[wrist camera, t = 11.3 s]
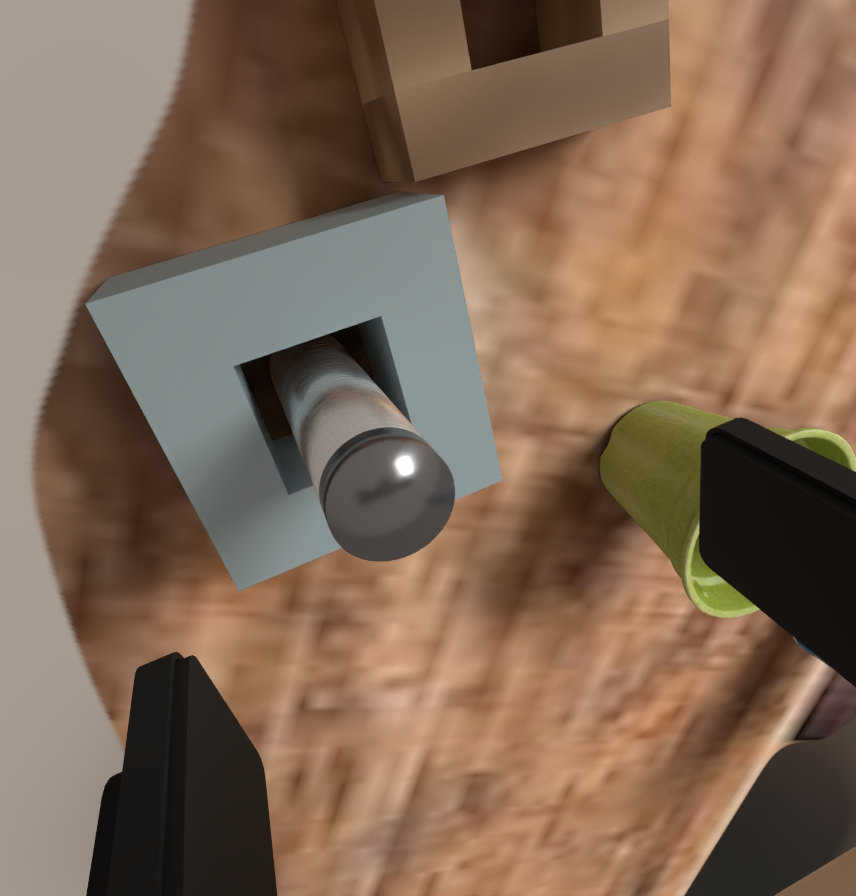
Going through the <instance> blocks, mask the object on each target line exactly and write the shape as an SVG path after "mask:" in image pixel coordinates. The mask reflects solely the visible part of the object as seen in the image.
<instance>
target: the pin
mask: <svg viewBox="0 0 856 896" xmlns="http://www.w3.org/2000/svg"><path fill="white" fill-rule="evenodd" d="M270 374H271V378H272V381H273V383H274V386H275V389H276V391H277V394H278V396H279V399H280V402H281V404H282V407H283V409H284V412H285V415H286V417H287V420H288V422H289V425H290V428H291V430H292V433H293V435H294V438H295V441H296V443H297V446H298V448H299V451H300V453H301V456H302V459H303V461H304V464H305V466H306V469H307V472H308V474H309V477H310V479H311V482H312V485H313V487H314V490H315V492H316V495H317V498H318V500H319V503H320V505H321V508H322V511H323V513H324V516H325V518H326V521H327V524H328V526H329V529H330V531H331V533H332V535H333V537H334V539H335V540H336V541H337V543H338V544H339V545H340V546H341V547H342V548H343V549H344V550H346V551H347V552H348V553H350V554H352V555H354V556H356V557H358V558H361V559H365V560H369V561H391V560H396V559H400V558H403V557H406V556H409V555H411V554H413V553H415V552H417V551H419V550H420V549H422V548H423V547H425V546H426V545H427V544H429V543H430V542H431V541H432V540H433V539H434V538H435V537H436V536H437V535H438V534H439V533H440V532H441V530H442V529H443V527H444V526H445V524H446V523H447V521H448V519H449V517H450V515H451V512H452V509H453V505H454V500H455V485H454V479H453V476H452V473H451V471H450V469H449V468H448V466H447V465H446V463H445V462H444V461H443V459H442V458H441V457H440V456H439V455H438V454H437V453H436V451H435V450H434V449H433V448H432V447H431V446H430V445H429V444H428V442H427V441H426V440H425V439H424V438H423V437H422V436H421V434H420V433H419V432H418V431H417V430H416V429H415V428H414V427H413V425H412V424H411V423H410V422H409V421H408V420H407V419H406V418H405V416H404V415H403V414H402V413H401V412H400V411H399V410H398V408H397V407H396V406H395V405H394V404H393V403H392V402H391V401H390V399H389V398H388V397H387V396H386V395H385V394H384V393H383V392H382V390H381V389H380V388H379V387H378V386H377V385H376V384H375V382H374V381H373V380H372V379H371V378H370V377H369V376H368V375H367V373H366V372H365V371H364V370H363V369H362V368H361V367H360V366H359V364H358V363H357V362H356V361H355V360H354V359H353V358H352V356H351V355H350V354H349V353H348V352H347V351H346V350H345V349H344V347H343V346H342V345H341V344H340V343H339V342H338V341H337V340H336V339H335V338H334V337H333V336H332V335H330V334H327V335H324V336H321V337H318V338H315V339H312V340H309V341H306V342H303V343H300V344H297V345H294V346H292V347H289V348H286V349H283V350H280V351H277V352H274V353H272V355H271V359H270Z"/></svg>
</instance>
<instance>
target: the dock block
mask: <svg viewBox="0 0 856 896" xmlns="http://www.w3.org/2000/svg"><path fill="white" fill-rule="evenodd" d="M85 305H86V307H87V308H88V310H89V312H90V314H91V316H92V318H93V320H94V322H95V323H96V325H97V327H98V329H99V331H100V333H101V335H102V336H103V338H104V340H105V342H106V344H107V346H108V348H109V350H110V351H111V353H112V355H113V357H114V359H115V361H116V363H117V365H118V366H119V368H120V370H121V372H122V374H123V376H124V378H125V380H126V381H127V383H128V385H129V387H130V389H131V391H132V393H133V394H134V396H135V398H136V400H137V402H138V404H139V406H140V408H141V409H142V411H143V413H144V415H145V417H146V419H147V421H148V423H149V424H150V426H151V428H152V430H153V432H154V434H155V436H156V437H157V439H158V441H159V443H160V445H161V447H162V449H163V451H164V452H165V454H166V456H167V458H168V460H169V462H170V464H171V466H172V467H173V469H174V471H175V473H176V475H177V477H178V479H179V481H180V482H181V484H182V486H183V488H184V490H185V492H186V494H187V495H188V497H189V499H190V501H191V503H192V505H193V507H194V509H195V510H196V512H197V514H198V516H199V518H200V520H201V522H202V524H203V525H204V527H205V529H206V531H207V533H208V535H209V537H210V539H211V540H212V542H213V544H214V546H215V548H216V550H217V552H218V553H219V555H220V557H221V559H222V561H223V563H224V565H225V567H226V568H227V570H228V572H229V574H230V576H231V578H232V580H233V582H234V583H235V585H236V587H237V589H238V591H240V590H243V589H245V588H248V587H250V586H252V585H255V584H257V583H259V582H262V581H264V580H267V579H269V578H271V577H274V576H276V575H278V574H281V573H283V572H286V571H288V570H290V569H293V568H295V567H298V566H300V565H302V564H305V563H307V562H309V561H312V560H314V559H317V558H319V557H321V556H324V555H326V554H328V553H331V552H333V551H336V550H338V549H340V548H342V547H341V546H340V545H339V544H338V543H337V541H336V540H335V539H334V537H333V535H332V533H331V531H330V529H329V526H328V524H327V521H326V518H325V516H324V513H323V511H322V508H321V505H320V503H319V500H318V498H317V495H316V492H315V490H314V487H313V485H312V482H311V479H310V477H309V474H308V472H307V469H306V466H305V464H304V461H303V459H302V456H301V453H300V451H299V448H298V446H297V443H296V441H295V438H294V435H293V433H292V434H290V435H287V436H284V437H282V438H279V439H276V440H274V441H272V439H271V436H270V434H269V432H268V429H267V427H266V425H265V422H264V420H263V417H262V415H261V413H260V410H259V408H258V406H257V403H256V401H255V399H254V396H253V394H252V391H251V389H250V387H249V384H248V382H247V380H246V377H245V375H244V373H243V370H242V368H241V365H240V364H242V363H245V362H248V361H251V360H253V359H256V358H259V357H262V356H265V355H268V354H271V353H274V352H277V351H280V350H283V349H286V348H289V347H292V346H294V345H297V344H300V343H303V342H306V341H309V340H312V339H315V338H318V337H321V336H324V335H327V334H330V333H333V332H335V331H338V330H341V329H344V328H347V327H350V326H353V325H356V324H358V328H359V331H360V334H361V337H362V341H363V344H364V347H365V351H366V354H367V357H368V360H369V364H370V367H371V370H372V373H373V377H374V380H375V383H376V385H377V386H378V387H379V388H380V389H381V390H382V392H383V393H384V394H385V395H386V396H387V397H388V398H389V399H390V401H391V402H392V403H393V404H394V405H395V406H396V407H397V408H398V410H399V411H400V412H401V413H402V414H403V415H404V416H405V418H406V419H407V420H408V421H409V422H410V423H411V424H412V425H413V427H414V428H415V429H416V430H417V431H418V432H419V433H420V434H421V436H422V437H423V438H424V439H425V440H426V441H427V442H428V444H429V445H430V446H431V447H432V448H433V449H434V450H435V451H436V453H437V454H438V455H439V456H440V457H441V458H442V459H443V461H444V462H445V463H446V465H447V466H448V468H449V469H450V471H451V473H452V476H453V479H454V485H455V500H457V499H459V498H462V497H464V496H466V495H469V494H471V493H473V492H476V491H478V490H481V489H483V488H485V487H488V486H490V485H492V484H495V483H497V482H500V481H502V475H501V470H500V466H499V461H498V456H497V451H496V446H495V441H494V436H493V432H492V427H491V422H490V417H489V412H488V407H487V402H486V398H485V393H484V388H483V383H482V378H481V373H480V368H479V364H478V359H477V354H476V349H475V344H474V339H473V334H472V330H471V325H470V320H469V315H468V310H467V305H466V300H465V296H464V291H463V286H462V281H461V276H460V271H459V266H458V262H457V257H456V252H455V247H454V242H453V237H452V232H451V228H450V223H449V218H448V213H447V208H446V203H445V198H444V195H437V194H422V193H406V192H395V193H392V194H388V195H385V196H381V197H378V198H375V199H371V200H368V201H365V202H361V203H358V204H355V205H351V206H348V207H345V208H341V209H338V210H334V211H331V212H328V213H324V214H321V215H318V216H314V217H311V218H308V219H304V220H301V221H298V222H294V223H291V224H287V225H284V226H281V227H277V228H274V229H271V230H267V231H264V232H261V233H257V234H254V235H250V236H247V237H244V238H240V239H237V240H234V241H230V242H227V243H224V244H220V245H217V246H214V247H210V248H207V249H203V250H200V251H197V252H193V253H190V254H187V255H183V256H180V257H177V258H173V259H170V260H166V261H163V262H160V263H156V264H153V265H150V266H146V267H143V268H140V269H136V270H133V271H130V272H126V273H123V274H119V275H116V276H113V277H109V278H108V279H107V280H106V281H105V282H104V283H103V284H102V285H101V287H100V288H99V289H98V290H97V291H96V292H95V293H94V294H93V296H92V297H91V298H90V299H89V300H88V301H87V302H86V304H85Z"/></svg>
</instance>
